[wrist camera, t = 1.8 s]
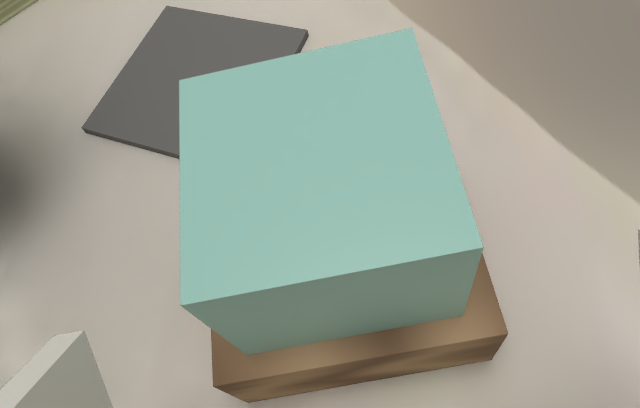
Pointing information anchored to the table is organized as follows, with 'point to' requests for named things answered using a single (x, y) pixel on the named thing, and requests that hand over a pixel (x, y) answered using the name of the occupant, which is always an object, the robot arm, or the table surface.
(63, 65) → the table surface
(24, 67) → the table surface
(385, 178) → the mint green cube
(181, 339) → the table surface
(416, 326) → the walnut box
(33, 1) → the hardcover book
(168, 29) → the mat
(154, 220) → the table surface
